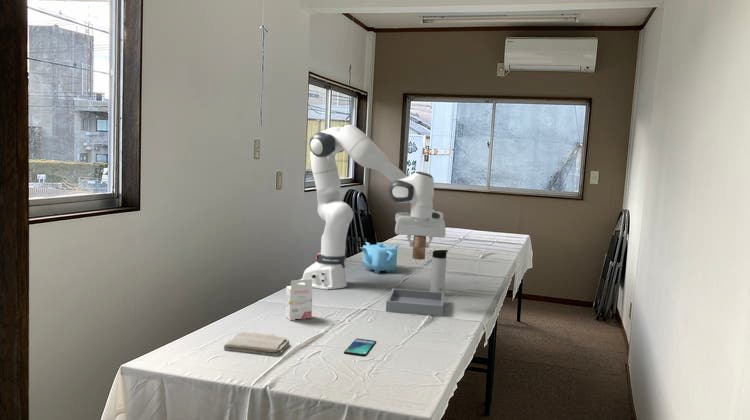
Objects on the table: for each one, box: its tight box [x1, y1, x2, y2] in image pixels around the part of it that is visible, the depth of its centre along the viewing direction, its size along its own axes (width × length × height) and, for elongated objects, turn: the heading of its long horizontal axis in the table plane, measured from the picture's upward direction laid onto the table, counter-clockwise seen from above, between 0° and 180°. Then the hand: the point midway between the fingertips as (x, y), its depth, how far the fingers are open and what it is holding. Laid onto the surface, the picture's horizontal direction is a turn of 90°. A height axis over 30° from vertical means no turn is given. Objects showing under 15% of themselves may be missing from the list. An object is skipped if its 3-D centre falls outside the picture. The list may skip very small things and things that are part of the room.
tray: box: [385, 287, 445, 317], centre depth 240 cm, size 22×22×4 cm
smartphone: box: [343, 338, 377, 357], centre depth 188 cm, size 7×1×15 cm
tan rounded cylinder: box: [412, 236, 427, 261], centre depth 238 cm, size 5×5×9 cm
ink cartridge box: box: [285, 279, 313, 321], centre depth 215 cm, size 9×5×15 cm, turn 117°
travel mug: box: [429, 249, 448, 294], centre depth 262 cm, size 6×7×20 cm
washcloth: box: [223, 331, 290, 356], centre depth 183 cm, size 12×18×3 cm, turn 81°
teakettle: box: [359, 241, 400, 274], centre depth 305 cm, size 19×19×15 cm
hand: (419, 247), depth 238 cm, fingers closed on tan rounded cylinder, 5 cm apart
